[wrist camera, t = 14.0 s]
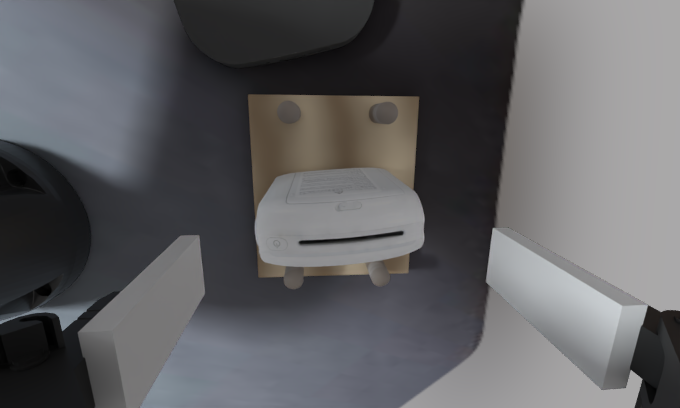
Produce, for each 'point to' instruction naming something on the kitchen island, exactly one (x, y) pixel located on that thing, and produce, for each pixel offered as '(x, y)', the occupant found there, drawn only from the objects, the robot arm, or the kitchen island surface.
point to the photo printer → (338, 218)
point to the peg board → (331, 155)
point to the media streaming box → (270, 28)
